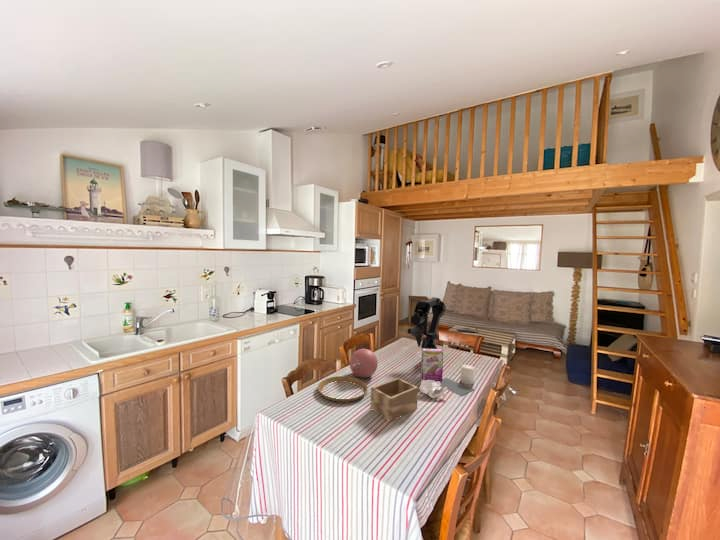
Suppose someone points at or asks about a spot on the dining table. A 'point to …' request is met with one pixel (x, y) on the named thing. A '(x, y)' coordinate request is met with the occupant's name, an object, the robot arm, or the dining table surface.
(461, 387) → the mat
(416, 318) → the robot arm
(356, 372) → the pink ball
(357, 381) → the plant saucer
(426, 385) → the coral
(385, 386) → the rectangular brown crate
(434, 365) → the candy bar box
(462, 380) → the cream domed cylinder
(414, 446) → the dining table surface
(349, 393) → the dining table surface
